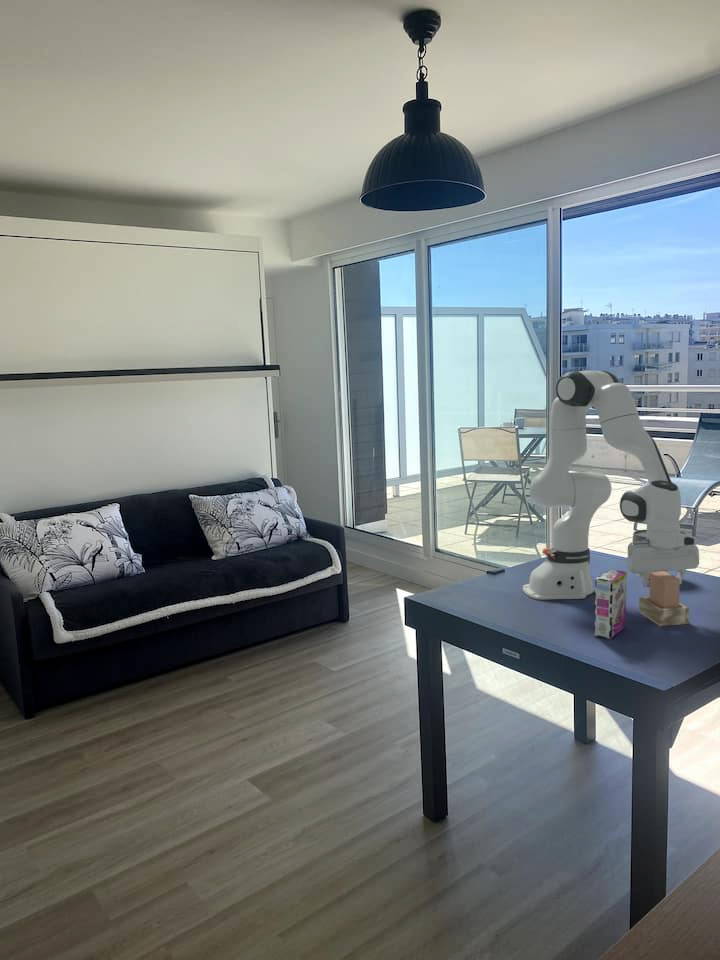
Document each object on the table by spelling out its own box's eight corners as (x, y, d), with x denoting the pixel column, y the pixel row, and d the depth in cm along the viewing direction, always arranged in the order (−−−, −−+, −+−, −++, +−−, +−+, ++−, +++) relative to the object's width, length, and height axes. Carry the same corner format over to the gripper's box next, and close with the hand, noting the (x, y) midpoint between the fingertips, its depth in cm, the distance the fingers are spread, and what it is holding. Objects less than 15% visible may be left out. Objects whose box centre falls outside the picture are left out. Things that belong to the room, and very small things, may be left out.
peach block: (664, 621, 205) (664, 580, 204) (649, 612, 213) (649, 572, 211) (678, 619, 206) (679, 578, 204) (663, 610, 214) (663, 571, 212)
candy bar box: (612, 640, 195) (612, 581, 193) (593, 636, 198) (593, 578, 196) (627, 627, 204) (627, 570, 201) (609, 624, 207) (609, 568, 204)
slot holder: (659, 626, 204) (660, 610, 203) (639, 612, 215) (639, 597, 215) (688, 623, 204) (688, 607, 204) (666, 609, 216) (666, 594, 215)
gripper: (633, 543, 202) (632, 591, 205) (703, 538, 204) (701, 585, 207) (622, 538, 208) (622, 584, 211) (690, 533, 210) (689, 579, 213)
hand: (662, 585), depth 209 cm, fingers open, 8 cm apart
